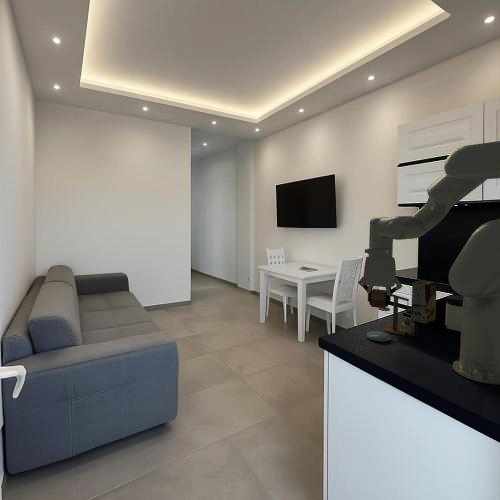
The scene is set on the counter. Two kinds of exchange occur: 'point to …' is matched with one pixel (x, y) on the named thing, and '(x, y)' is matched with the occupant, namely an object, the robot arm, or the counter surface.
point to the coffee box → (423, 301)
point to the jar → (454, 312)
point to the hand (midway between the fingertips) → (378, 304)
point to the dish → (379, 336)
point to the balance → (395, 318)
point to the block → (378, 298)
